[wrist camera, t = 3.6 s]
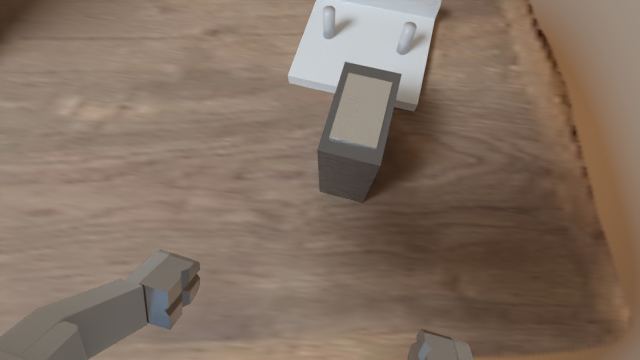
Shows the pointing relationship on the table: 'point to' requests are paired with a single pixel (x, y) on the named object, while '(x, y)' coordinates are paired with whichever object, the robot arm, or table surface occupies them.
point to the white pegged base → (366, 43)
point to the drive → (356, 130)
